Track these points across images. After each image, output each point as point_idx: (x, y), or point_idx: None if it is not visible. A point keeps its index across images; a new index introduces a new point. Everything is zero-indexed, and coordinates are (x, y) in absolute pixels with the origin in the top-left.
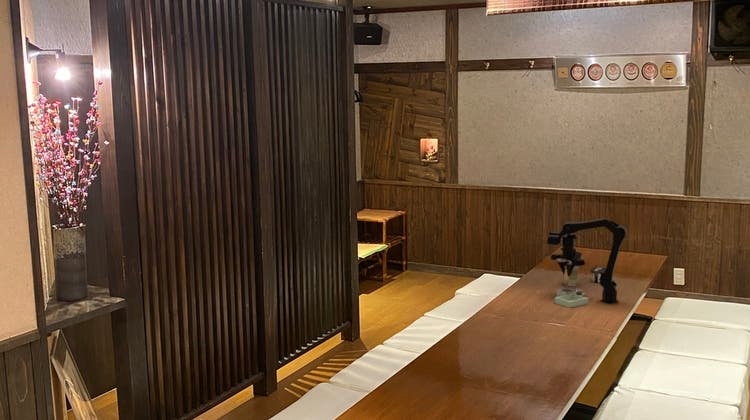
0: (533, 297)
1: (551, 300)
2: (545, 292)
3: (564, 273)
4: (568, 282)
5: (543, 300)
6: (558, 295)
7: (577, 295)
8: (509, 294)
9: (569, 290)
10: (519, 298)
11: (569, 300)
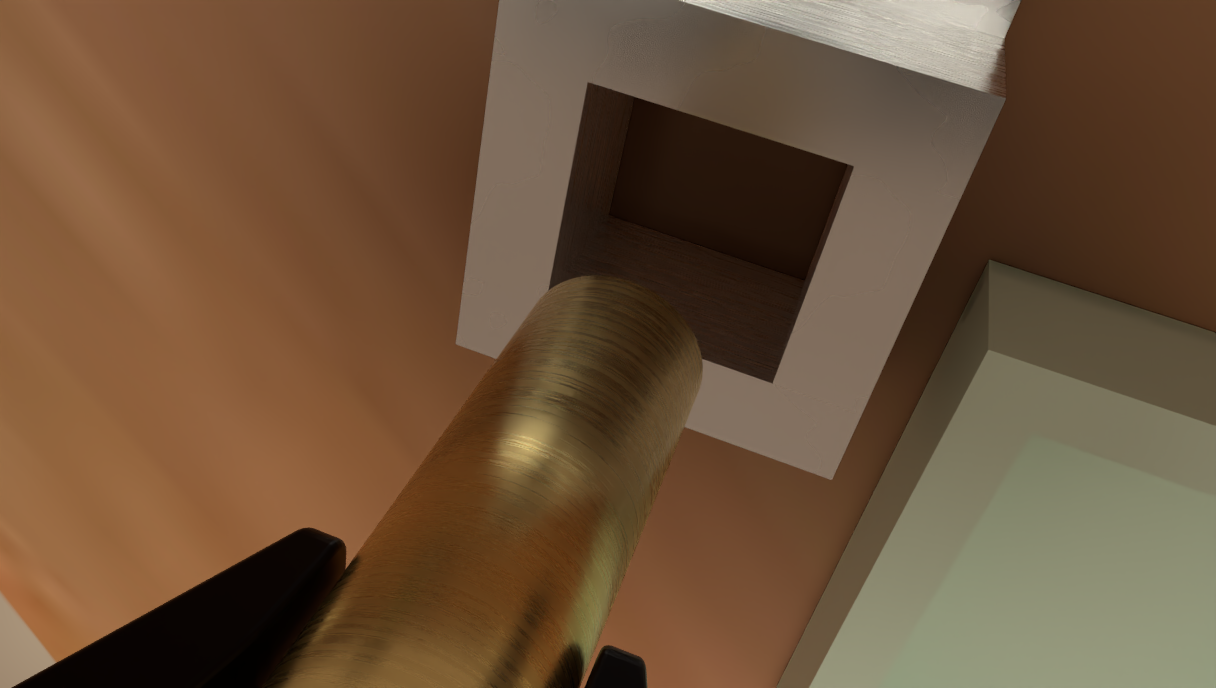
0: None
1: (636, 570)
2: (169, 108)
3: None
4: (680, 433)
5: None
6: None
7: (1206, 473)
8: (15, 557)
9: (735, 117)
10: None
11: (992, 498)
